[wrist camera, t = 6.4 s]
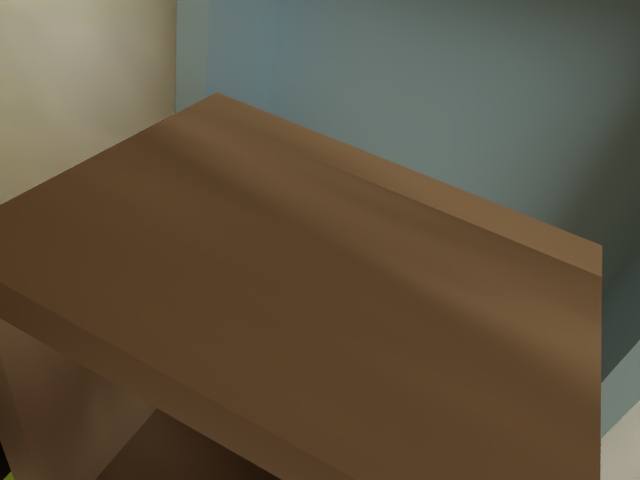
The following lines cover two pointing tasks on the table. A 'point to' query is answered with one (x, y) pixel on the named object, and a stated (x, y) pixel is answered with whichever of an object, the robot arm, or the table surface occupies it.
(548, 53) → the slate tote
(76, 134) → the table surface
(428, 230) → the walnut crate
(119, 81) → the table surface
